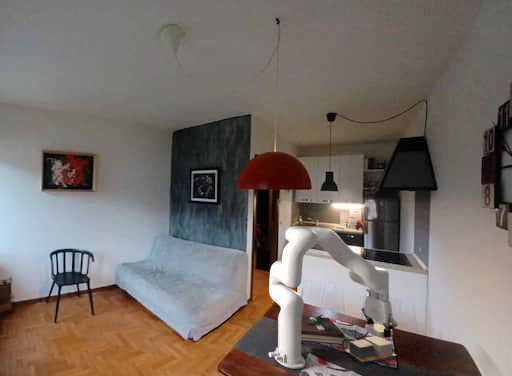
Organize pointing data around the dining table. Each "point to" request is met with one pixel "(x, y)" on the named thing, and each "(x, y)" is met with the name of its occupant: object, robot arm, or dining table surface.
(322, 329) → the decorative book
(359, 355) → the grey book
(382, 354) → the white book
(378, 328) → the white book
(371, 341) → the white book
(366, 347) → the grey book
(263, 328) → the dining table surface
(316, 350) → the dining table surface
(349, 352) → the shelf board
